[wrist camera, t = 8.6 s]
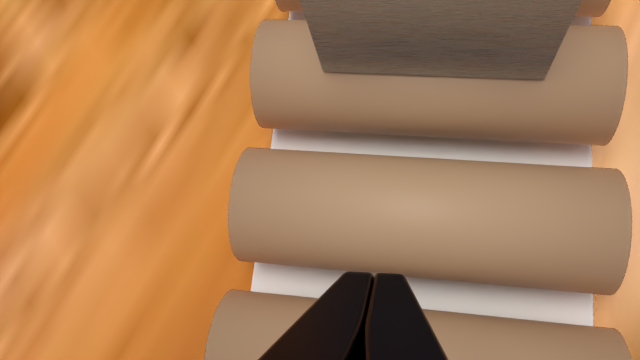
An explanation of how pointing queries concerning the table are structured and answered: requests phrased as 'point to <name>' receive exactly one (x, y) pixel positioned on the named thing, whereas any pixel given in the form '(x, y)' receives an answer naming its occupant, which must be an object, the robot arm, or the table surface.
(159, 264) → the table surface
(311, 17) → the grey block
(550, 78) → the roller track
